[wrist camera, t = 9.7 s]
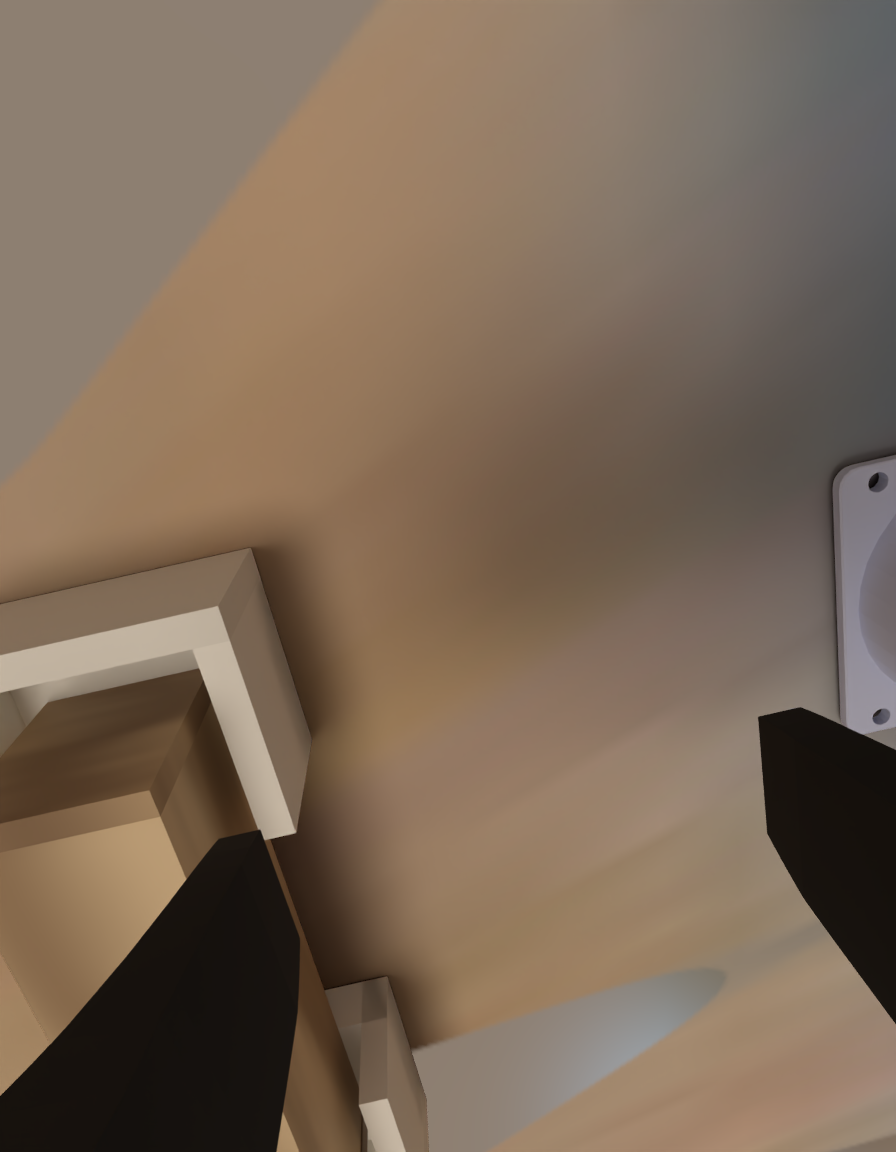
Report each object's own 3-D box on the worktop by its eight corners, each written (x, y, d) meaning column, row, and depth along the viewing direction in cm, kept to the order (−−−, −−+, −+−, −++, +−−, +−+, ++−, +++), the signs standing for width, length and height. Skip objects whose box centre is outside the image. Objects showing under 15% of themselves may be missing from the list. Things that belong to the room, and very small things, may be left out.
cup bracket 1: (250, 548, 19) (217, 606, 16) (312, 739, 21) (296, 833, 18) (-23, 609, 19) (-121, 682, 16) (65, 795, 21) (-5, 900, 18)
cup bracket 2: (387, 976, 24) (387, 1098, 21) (426, 1098, 26) (433, 1230, 23) (171, 1025, 24) (132, 1156, 21) (227, 1144, 26) (200, 1283, 23)
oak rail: (210, 665, 19) (149, 790, 14) (368, 1108, 24) (363, 1306, 19) (47, 702, 19) (-70, 839, 14) (242, 1137, 24) (207, 1342, 19)
